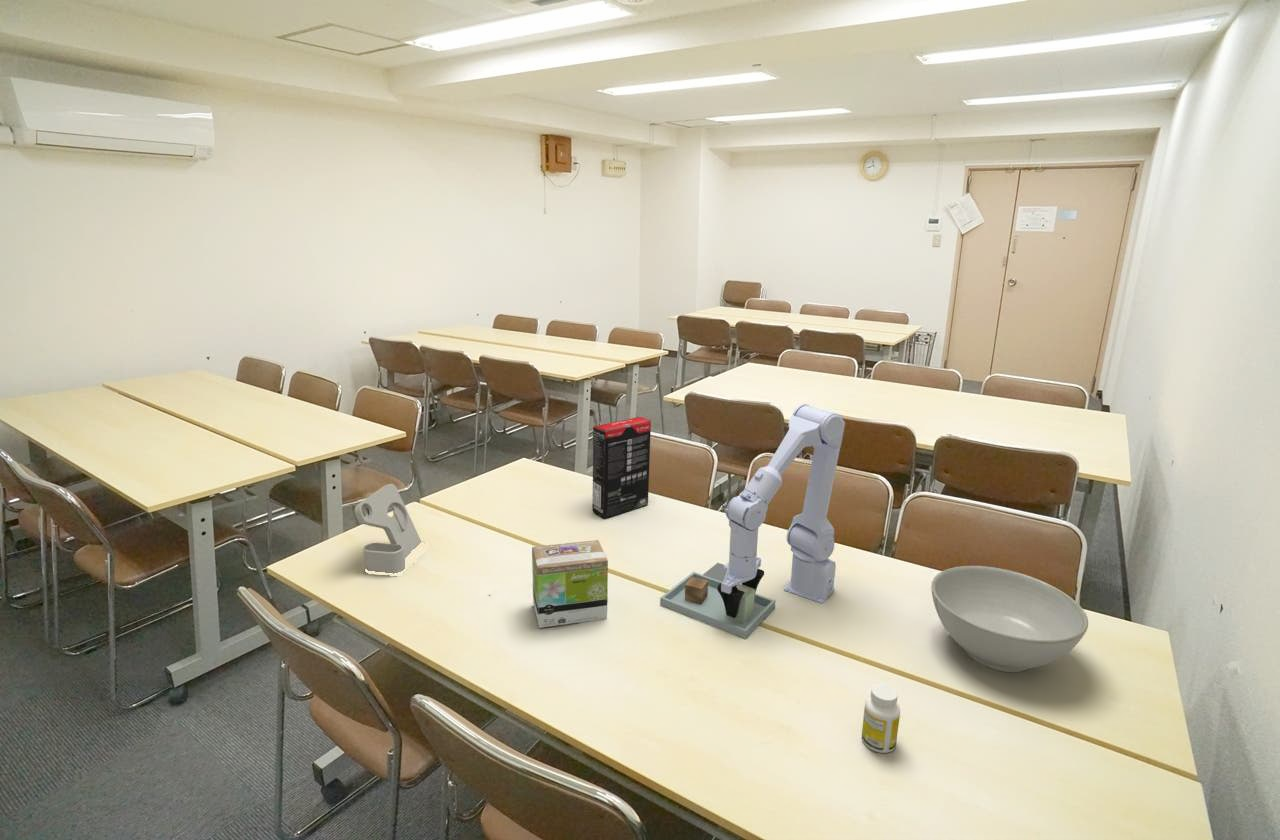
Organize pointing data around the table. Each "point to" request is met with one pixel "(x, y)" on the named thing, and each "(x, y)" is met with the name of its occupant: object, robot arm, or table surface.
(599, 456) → the graphics card box
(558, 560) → the tea box
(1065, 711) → the table surface
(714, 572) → the mat
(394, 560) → the phone holder
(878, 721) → the supplement bottle
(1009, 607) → the decorative bowl
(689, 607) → the tray
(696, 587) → the walnut block
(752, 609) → the pale green box
